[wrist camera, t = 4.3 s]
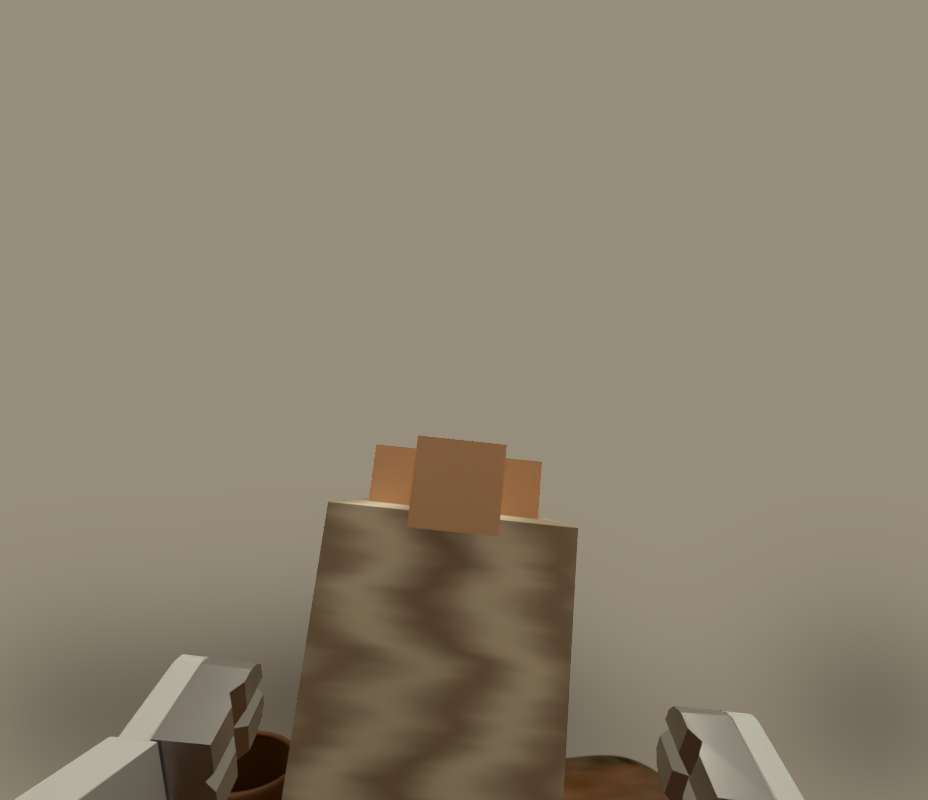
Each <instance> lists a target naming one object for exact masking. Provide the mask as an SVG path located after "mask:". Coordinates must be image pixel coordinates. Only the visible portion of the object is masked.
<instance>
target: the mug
mask: <svg viewBox="0 0 928 800" xmlns="http://www.w3.org/2000/svg"><path fill="white" fill-rule="evenodd" d="M290 742H291V741H290V740H289V739H287V738H285V737H284V736H281V735H278V734H275V733H272V732H266V731H257V734H256V736H255V739H254V741H253V743H252V746H251V748H250V750H249V751H248V752H247V753H245V754H244V755H243V756H242V757H241V758H240V759H238V760H237V771H238V777H237V779H236V781H235V783H234V785H233V788H232V790H231V792H230V794H229V796H228V798H227V800H281V799H282V793H283V787H284V780H285V774H286V768H287V761H288V755H289V748H290Z"/></svg>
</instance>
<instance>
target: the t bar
mask: <svg viewBox="0 0 928 800" xmlns="http://www.w3.org/2000/svg"><path fill="white" fill-rule="evenodd" d="M505 456H506V445H501V444H492V443H482V442H473V441H463V440H454V439H445V438H435V437H426V436H418V441H417V449H414V448H404V447H394V446H385V445H376V452H375V459H374V466H373V474H372V481H371V488H370V495H369V501H374V502H384V503H393V504H403V505H410V506H409V514H408V522H407V527H411V528H420V529H430V530H439V531H449V532H458V533H468V534H477V535H486V536H496V537H499V527H500V515H507V516H516V517H526V518H535V519H538V508H539V494H540V479H541V464H542V462H536V461H527V460H517V459H508V458H505Z"/></svg>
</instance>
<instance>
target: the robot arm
mask: <svg viewBox="0 0 928 800" xmlns="http://www.w3.org/2000/svg"><path fill="white" fill-rule="evenodd" d="M261 679H262V670H261V664H255V663H247V662H239V661H233V660H225V659H218V658H210V657H202V656H193V655H185V654H183V655H181V656H180V657H179V658H178V659H176V660H175V661H174V662H173V663H172V665H171V666H170V667H169V669H168V670H167V671H166V673H165V674H164V675H163V677H162V678H161V680H160V681H159V682H158V684H157V685H156V686H155V688H154V689H153V690H152V692H151V693H150V694H149V696H148V697H147V699H146V700H145V701H144V703H143V704H142V705H141V707H140V708H139V710H138V711H137V712H136V714H135V715H134V716H133V718H132V719H131V721H130V722H129V723H128V724H127V726H126V727H125V729H124V730H123V732H122V733H121V734H120V735H119V737H109V738H107V739H105V740H104V741H102V742H101V743H99V744H98V745H96V746H95V747H93V748H92V749H90V750H89V751H87V752H86V753H84V754H83V755H81V756H80V757H78V758H77V759H75V760H74V761H72V762H71V763H69V764H68V765H66V766H65V767H63V768H62V769H60V770H58V771H57V772H55V773H54V774H52V775H51V776H50V777H48V778H46V779H45V780H43V781H42V782H40V783H39V784H38V785H36V786H34V787H33V788H31V789H30V790H28V791H27V792H25V793H24V794H22V795H21V796H19V797H18V798H16V799H15V800H227V798H228V796H229V794H230V792H231V790H232V788H233V785H234V783H235V781H236V779H237V777H238V771H237V760H238V759H240V758H241V757H242V756H243V755H244V754H245V753H247V752H248V751H249V750H250V748H251V746H252V743H253V741H254V739H255V736H256V734H257V731H258V727H259V724H260V721H261V717H262V711H263V704H264V703H263V693H262V692H261V691H260V690H259V689H258V685H259V683H260V681H261ZM666 722H667V724H668V727H669V729H668V730H667V731H666V732H664V733H663V734H661V735H660V737H659V742H658V745H657V768H658V773H659V778H660V781H661V784H662V787H663V790H664V793H665V794H666V796H667V797H668V798H669V799H670V800H804V798H803V797H802V795H801V794H800V792H799V790H798V788H797V786H796V785H795V783H794V781H793V780H792V778H791V776H790V775H789V773H788V771H787V770H786V768H785V766H784V765H783V763H782V761H781V759H780V758H779V756H778V754H777V752H776V751H775V749H774V747H773V746H772V744H771V742H770V741H769V739H768V737H767V735H766V734H765V732H764V730H763V729H762V727H761V725H760V724H759V722H758V721H757V719H756V718H755V717H753V716H752V715H751V714H744V713H734V712H723V711H721V710H711V709H699V708H688V707H677V706H673V707H672V708H671V709H670V710H669V711H668V714H667V716H666Z"/></svg>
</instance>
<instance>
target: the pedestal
mask: <svg viewBox="0 0 928 800" xmlns="http://www.w3.org/2000/svg"><path fill="white" fill-rule="evenodd" d="M409 506H410V505H403V504H393V503H384V502H374V501H369V498H365V499H354V500H342V501H331V502H328V507H327V513H326V519H325V526H324V533H323V539H322V545H321V551H320V558H319V564H318V570H317V577H316V583H315V590H314V596H313V602H312V608H311V615H310V621H309V628H308V634H307V640H306V647H305V653H304V659H303V666H302V672H301V678H300V685H299V691H298V698H297V704H296V711H295V717H294V723H293V729H292V736H291V742H290V748H289V755H288V761H287V768H286V774H285V780H284V787H283V793H282V799H281V800H563V794H564V775H565V757H566V738H567V718H568V700H569V683H570V664H571V645H572V627H573V609H574V590H575V572H576V552H577V534H578V528H576V527H573V526H569V525H566V524H563V523H559V522H556V521H553V520H549V519H546V518H542V517H539V516H538V519H535V518H526V517H516V516H507V515H500V527H499V537H496V536H486V535H477V534H468V533H458V532H449V531H439V530H430V529H420V528H411V527H407V522H408V514H409Z"/></svg>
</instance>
